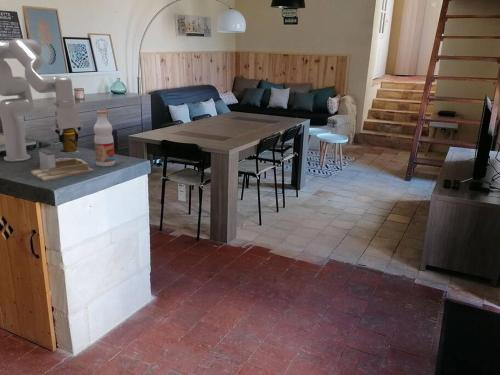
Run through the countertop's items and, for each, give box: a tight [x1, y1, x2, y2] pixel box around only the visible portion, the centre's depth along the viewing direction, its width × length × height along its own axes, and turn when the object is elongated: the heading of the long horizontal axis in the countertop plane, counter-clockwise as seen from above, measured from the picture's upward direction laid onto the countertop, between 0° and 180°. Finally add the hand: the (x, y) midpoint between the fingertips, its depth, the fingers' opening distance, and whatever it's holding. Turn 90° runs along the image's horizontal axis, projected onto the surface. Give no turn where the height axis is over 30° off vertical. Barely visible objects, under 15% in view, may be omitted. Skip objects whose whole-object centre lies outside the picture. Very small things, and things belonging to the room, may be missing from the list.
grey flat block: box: [38, 148, 56, 175], centre depth 204 cm, size 10×3×10 cm, turn 45°
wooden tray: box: [30, 157, 95, 182], centre depth 210 cm, size 16×24×4 cm, turn 135°
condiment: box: [57, 128, 80, 154], centre depth 208 cm, size 7×8×12 cm
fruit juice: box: [93, 110, 116, 167], centre depth 222 cm, size 9×9×28 cm
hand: (69, 141), depth 209 cm, fingers closed on condiment, 6 cm apart
